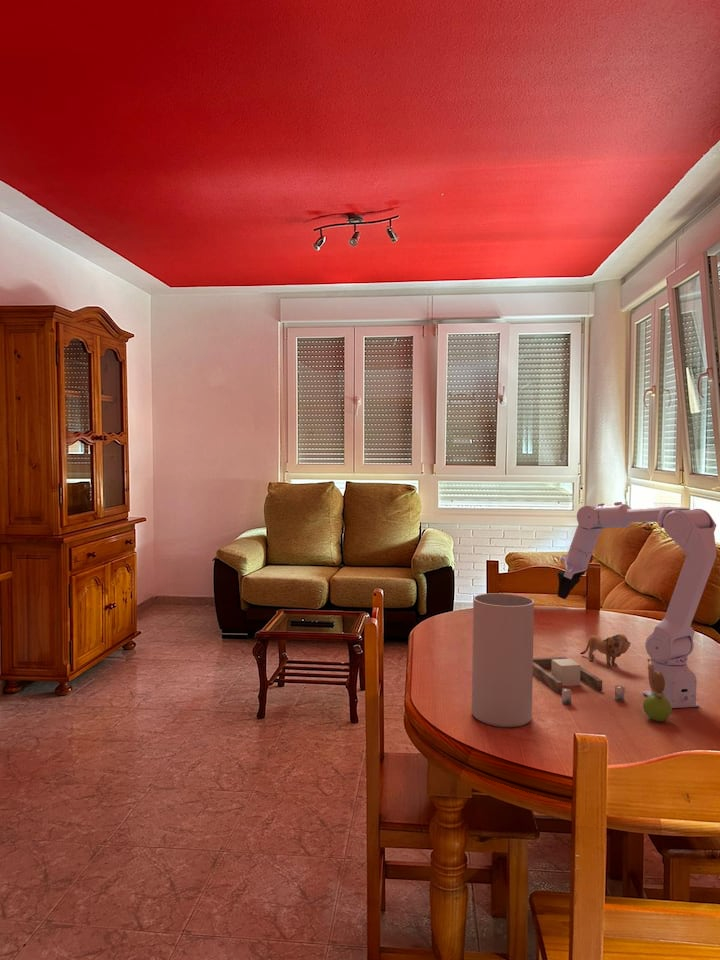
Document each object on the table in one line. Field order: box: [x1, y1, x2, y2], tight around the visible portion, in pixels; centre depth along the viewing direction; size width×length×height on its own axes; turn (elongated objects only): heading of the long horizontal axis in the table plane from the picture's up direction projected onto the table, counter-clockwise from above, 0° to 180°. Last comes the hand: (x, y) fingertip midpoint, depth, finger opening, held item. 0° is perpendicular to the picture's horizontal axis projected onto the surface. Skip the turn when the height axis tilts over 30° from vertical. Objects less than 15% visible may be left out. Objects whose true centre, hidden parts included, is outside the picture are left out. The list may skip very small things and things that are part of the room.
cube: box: [550, 658, 581, 687], centre depth 157 cm, size 5×5×5 cm
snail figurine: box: [642, 658, 673, 722], centre depth 135 cm, size 5×6×12 cm
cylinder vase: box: [471, 592, 535, 728], centre depth 135 cm, size 12×12×25 cm
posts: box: [561, 685, 626, 706], centre depth 144 cm, size 2×15×3 cm, turn 100°
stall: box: [533, 656, 603, 694], centre depth 159 cm, size 18×11×2 cm, turn 10°
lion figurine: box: [579, 633, 631, 669], centre depth 172 cm, size 15×5×9 cm, turn 34°
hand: (565, 592), depth 171 cm, fingers open, 7 cm apart
